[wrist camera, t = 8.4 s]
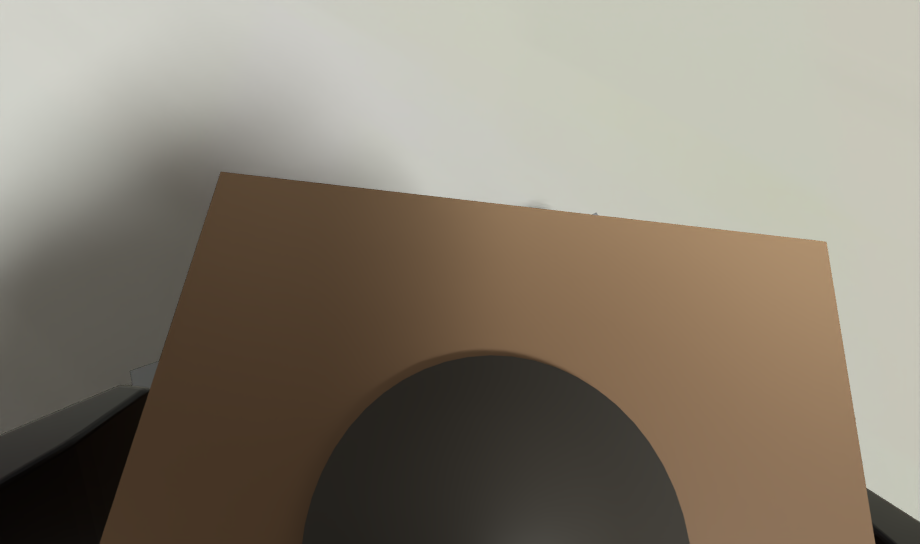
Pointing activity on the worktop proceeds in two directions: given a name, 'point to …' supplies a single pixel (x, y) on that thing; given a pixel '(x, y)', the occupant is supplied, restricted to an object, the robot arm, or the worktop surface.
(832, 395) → the walnut block
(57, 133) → the worktop surface
